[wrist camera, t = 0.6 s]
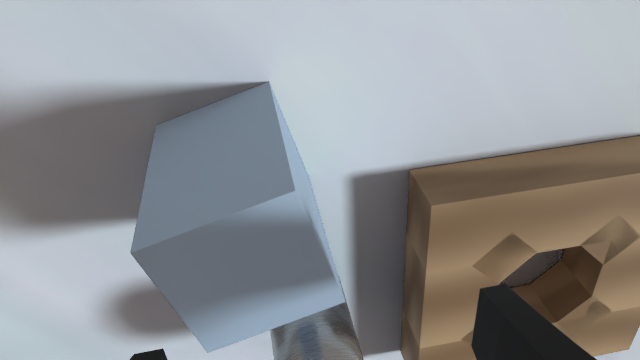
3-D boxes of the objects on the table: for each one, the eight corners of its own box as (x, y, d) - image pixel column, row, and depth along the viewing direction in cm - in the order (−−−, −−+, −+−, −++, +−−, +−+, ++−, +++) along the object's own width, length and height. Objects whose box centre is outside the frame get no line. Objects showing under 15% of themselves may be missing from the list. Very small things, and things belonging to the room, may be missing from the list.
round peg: (341, 308, 25) (379, 444, 20) (270, 321, 25) (287, 463, 19) (339, 255, 23) (380, 389, 18) (261, 268, 23) (278, 409, 17)
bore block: (598, 312, 29) (628, 349, 27) (400, 350, 28) (415, 392, 26) (665, 131, 23) (713, 161, 21) (409, 169, 21) (431, 205, 19)
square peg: (308, 175, 21) (345, 301, 15) (208, 212, 21) (207, 353, 15) (269, 81, 18) (295, 190, 12) (155, 125, 18) (130, 252, 13)
